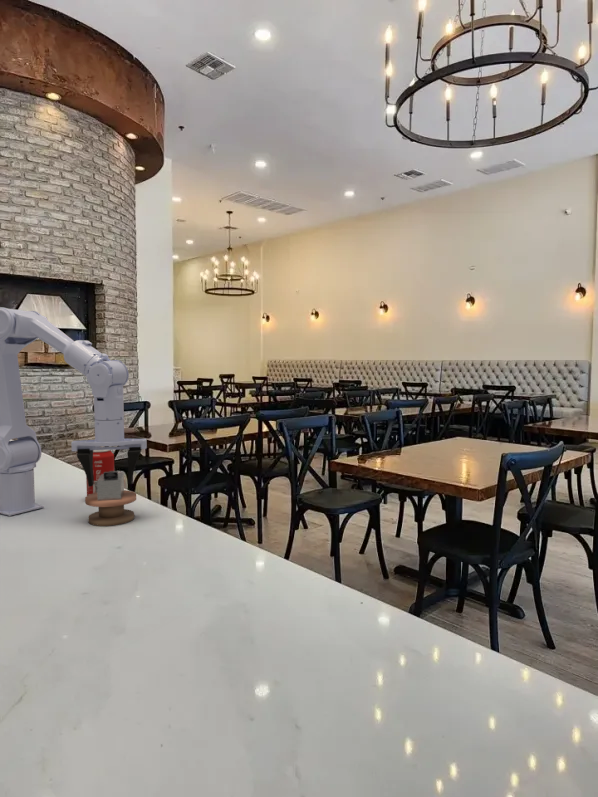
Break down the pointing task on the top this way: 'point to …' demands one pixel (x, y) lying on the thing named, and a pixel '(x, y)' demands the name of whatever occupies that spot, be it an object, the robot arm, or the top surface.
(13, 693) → the top surface
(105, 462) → the beverage can
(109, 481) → the block
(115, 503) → the stand
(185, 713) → the top surface
